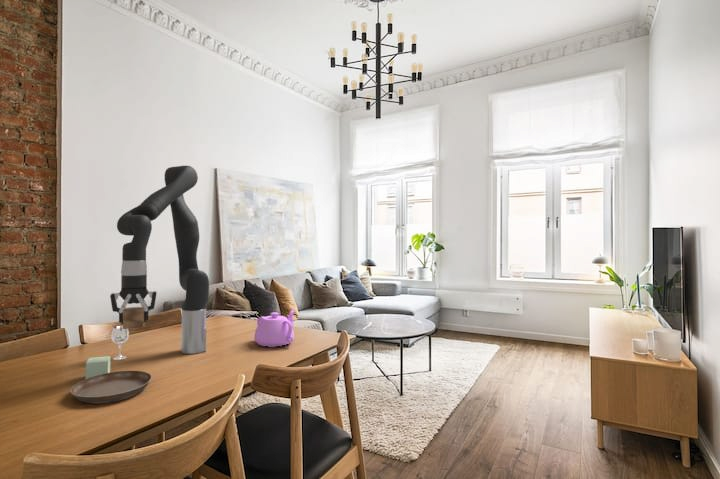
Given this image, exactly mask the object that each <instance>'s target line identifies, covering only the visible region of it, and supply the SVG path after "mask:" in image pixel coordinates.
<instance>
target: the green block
mask: <svg viewBox="0 0 720 479" xmlns="http://www.w3.org/2000/svg"><path fill="white" fill-rule="evenodd" d="M105 373H111V355H109V356H106V355H105V356H97V357H96V356H95V357H89V358H88V359H87V361H86V362H85V379H87V378H90V377H94V376H97V375H101V374H105Z"/></svg>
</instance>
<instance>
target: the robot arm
mask: <svg viewBox="0 0 720 479" xmlns="http://www.w3.org/2000/svg"><path fill="white" fill-rule="evenodd" d="M197 183H198V173H197V171H196V169H195V168H194V167H193V166H190V165H179V166H178V165H177V166H172V167H171V166H170V167H168V168H166V170H165V171H164V184H165V186H163V187H161V188H160V189H158V190H155V191H154V192H153V193H151V194H149V195H148V196H147V197H146V198H145V199H144V200H143V201H142V202H141V203H140V204H138V206H135V207H134V208H132V209H130V210H128V211H126V212H124V213H123V214H122V215H121V216H120V217H119V219H118V220H117V223H116V229H117V231H118V233H119V234H120V235H124V236H133V237H132V240H131V241H129V242H126V243H124V244H123V245H122V251H121V252H122V258H121V259H122V260H121V262H122V263H121V270H120V273H121V274H120V275H121V276H120V278H121V280H120V281H121V282H120V283H121V285H120V286H121V289H120V291H119V292H115V293H114V292H112V293H110V295H109V296H110V304H111V309H112V312H114V313H115V312H117V313H118V322H119V323H120V324H121V325H123V310H124V309H125V308H127V306H128V305H131V304H140V305H141V306H140V307H143V309H144V322H145V323H147V321H148V320H149V312H150V311H151V310H154V309H155V304H156V299H157V293H158V292H157V291H155V290H154V291H151V290H150V291H149V290H148V288H147V285H148V283H147V280H148V279H147V276H148V274H147V273H148V271H147V269H148V266H147V247H148V244H149V240H150V236H151V234H152V230H153V227H152V224H153V223H152V221H154V220H156V219H157V218H158V217H160V216H161V215H162V214H163V212H165V210H166V209H167V208H168V207H169V206H170V212H171V218H172V223H173V224H172V226H173V233H174V239H175V247H176V253H177V257H178V282H179V286H180V287H181V288H182V289H183V290H184V291H185V299H184V301H183V302H182V304H181V332H180V333H181V337H180V339H181V340H180V341H181V344H180V349H181V350H180V352H181V353H182V354H185V355H187V354H189V355H193V354H200V353H203V352H207V303H208V302H209V294H210V291H209V290H210V280H209V275H208V274H207V273H206V272H205V271H204V270H200V269H199V267H198V260H197V253H198V249H199V244H200V243H199V242H200V228H199V222H198V219H197V217H196V216H195V215H194V213H193V211H192V210H191V209H190V208H189V206H188V205H187V202H186V201H185V196H184V194H185V193H186V192H188V191H190V190H191V189H193V188H194V187H195V186H196V184H197ZM147 295H149V298H150V299H151V301H150V305H147V302H146V301H145V298H146V297H147ZM119 297H120V298H122V300H123V302H122V304H121V306H120V307H118V302H117V300H118V299H119Z"/></svg>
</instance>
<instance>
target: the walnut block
mask: <svg viewBox="0 0 720 479" xmlns="http://www.w3.org/2000/svg"><path fill="white" fill-rule="evenodd" d="M145 323H146V322H144V309H143V307H142V306H132V307H130V306H129V307H125V309H124V310H123V324H122V326H123V329H128V330H129V329H139V328H141V329H142V328H144V326H145Z"/></svg>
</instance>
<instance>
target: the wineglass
mask: <svg viewBox="0 0 720 479" xmlns="http://www.w3.org/2000/svg"><path fill="white" fill-rule="evenodd" d="M129 336H130V332H129V329H123V325H115V326H113V327H112V331H111V336H110V337H111V342H113V343H114V344H117V345H118V350H119V352H118V353H119V354H118V355H117V356H115V357H113V359H112V360H114V361H115V360H116V361H121V360H125V359H127V358H128V357H127V356H126V355H122V353H121V352H122V344H124V343H126V342H127V341H128V340H129Z"/></svg>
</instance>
